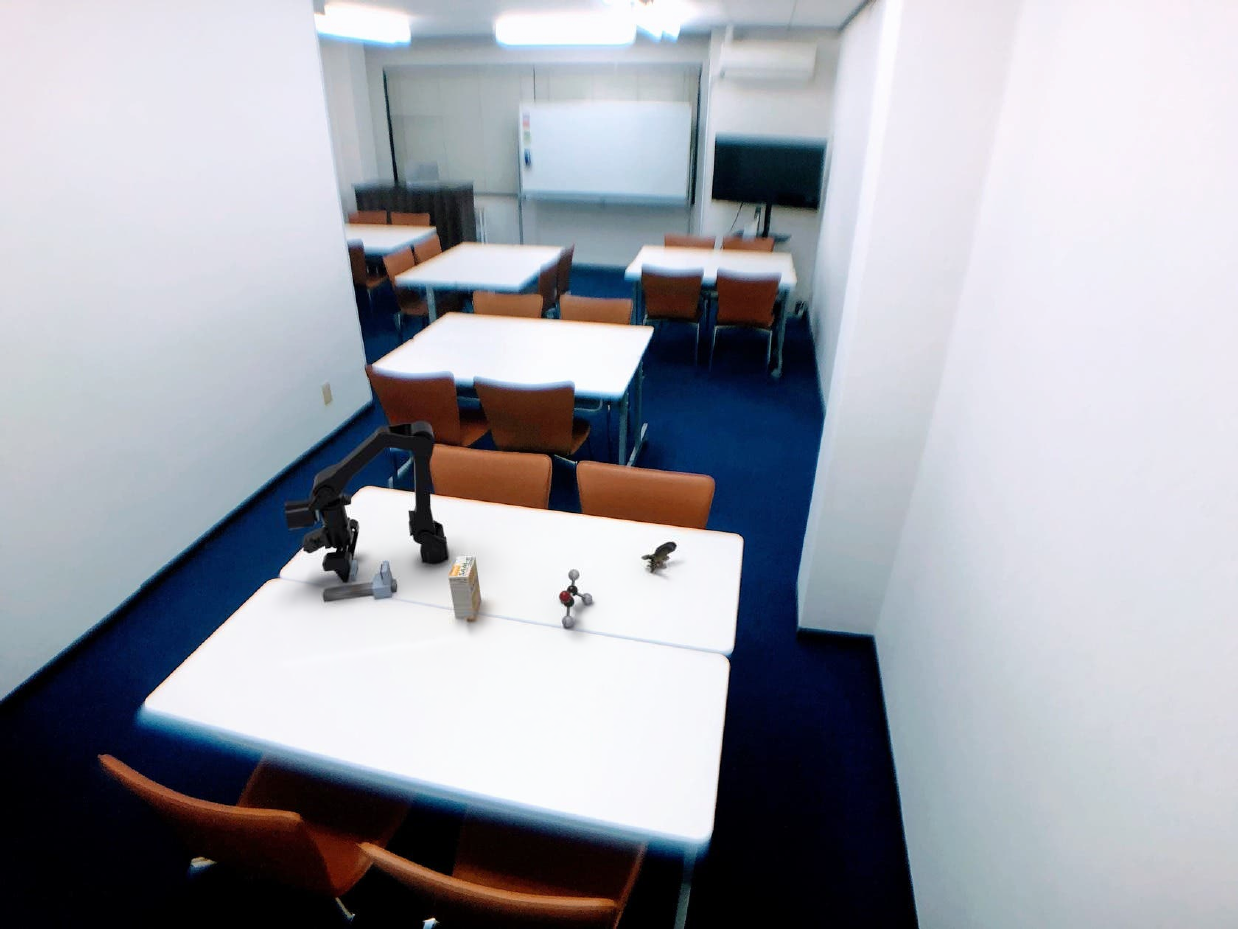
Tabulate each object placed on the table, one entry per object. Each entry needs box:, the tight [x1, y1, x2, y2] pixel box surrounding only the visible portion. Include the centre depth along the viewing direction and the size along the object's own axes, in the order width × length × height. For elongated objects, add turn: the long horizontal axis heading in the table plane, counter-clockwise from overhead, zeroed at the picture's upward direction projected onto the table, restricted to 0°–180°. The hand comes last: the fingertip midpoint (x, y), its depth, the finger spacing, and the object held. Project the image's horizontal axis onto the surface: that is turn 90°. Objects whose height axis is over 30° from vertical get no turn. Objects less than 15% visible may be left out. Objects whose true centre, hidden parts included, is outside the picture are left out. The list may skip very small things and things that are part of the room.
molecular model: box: [558, 569, 593, 628], centre depth 162 cm, size 8×12×11 cm
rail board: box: [322, 578, 398, 603], centre depth 171 cm, size 18×9×3 cm, turn 102°
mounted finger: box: [372, 560, 394, 600], centre depth 170 cm, size 4×6×7 cm, turn 12°
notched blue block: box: [336, 559, 359, 584], centre depth 176 cm, size 4×6×7 cm, turn 12°
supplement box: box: [448, 556, 482, 622], centre depth 163 cm, size 8×5×13 cm, turn 179°
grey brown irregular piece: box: [641, 541, 678, 574], centre depth 179 cm, size 8×7×9 cm
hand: (348, 571), depth 177 cm, fingers open, 9 cm apart
